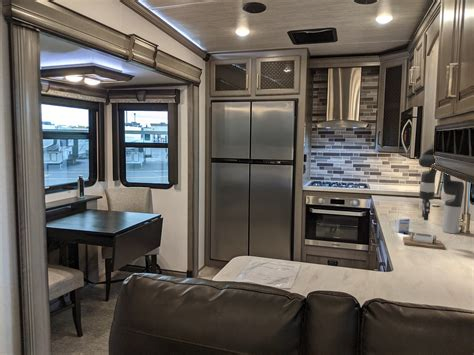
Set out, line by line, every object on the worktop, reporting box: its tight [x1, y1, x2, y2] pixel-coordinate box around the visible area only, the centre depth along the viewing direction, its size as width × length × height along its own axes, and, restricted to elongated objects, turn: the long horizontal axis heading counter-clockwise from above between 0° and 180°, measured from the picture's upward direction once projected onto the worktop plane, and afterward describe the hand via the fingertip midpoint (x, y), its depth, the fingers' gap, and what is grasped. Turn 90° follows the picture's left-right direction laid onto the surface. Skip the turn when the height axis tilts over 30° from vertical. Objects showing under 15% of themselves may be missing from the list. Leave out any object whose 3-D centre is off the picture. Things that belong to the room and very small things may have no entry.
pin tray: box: [402, 232, 445, 250], centre depth 214 cm, size 14×20×5 cm
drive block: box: [413, 232, 433, 244], centre depth 214 cm, size 5×9×4 cm, turn 65°
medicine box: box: [393, 217, 411, 234], centre depth 240 cm, size 8×4×9 cm, turn 105°
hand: (424, 218), depth 213 cm, fingers open, 8 cm apart
